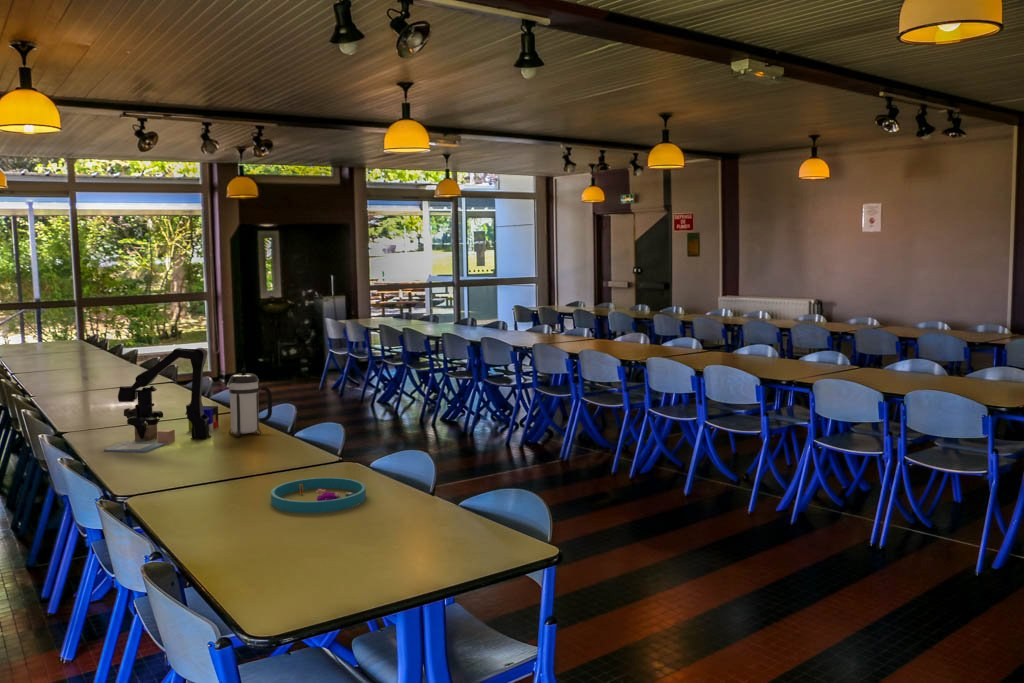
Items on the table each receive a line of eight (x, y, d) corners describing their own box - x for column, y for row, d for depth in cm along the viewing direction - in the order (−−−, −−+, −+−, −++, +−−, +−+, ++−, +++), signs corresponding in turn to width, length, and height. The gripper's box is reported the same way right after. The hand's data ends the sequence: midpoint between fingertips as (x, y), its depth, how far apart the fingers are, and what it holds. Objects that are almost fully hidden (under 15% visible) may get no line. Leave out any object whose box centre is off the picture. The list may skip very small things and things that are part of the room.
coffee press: (254, 438, 364) (252, 370, 361) (221, 436, 367) (219, 369, 364) (273, 430, 381) (271, 366, 378) (241, 429, 384) (239, 365, 381)
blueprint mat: (166, 444, 351) (166, 442, 351) (145, 452, 335) (145, 450, 335) (127, 443, 353) (126, 441, 353) (104, 451, 337) (104, 449, 337)
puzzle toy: (210, 431, 380) (209, 409, 379) (188, 431, 380) (188, 409, 379) (218, 427, 390) (218, 406, 389) (197, 427, 390) (196, 405, 389)
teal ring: (291, 520, 249) (291, 501, 248) (257, 497, 273) (257, 480, 272) (381, 504, 266) (381, 486, 266) (342, 484, 290) (342, 467, 290)
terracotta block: (174, 441, 358) (174, 429, 358) (168, 443, 354) (168, 431, 353) (164, 440, 359) (163, 429, 359) (157, 443, 354) (157, 431, 354)
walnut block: (157, 438, 363) (156, 424, 363) (149, 441, 357) (148, 427, 356) (143, 437, 364) (143, 424, 364) (135, 440, 358) (134, 427, 357)
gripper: (139, 397, 369) (140, 432, 371) (114, 404, 351) (116, 441, 352) (163, 398, 368) (164, 433, 369) (139, 405, 350) (140, 441, 351)
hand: (146, 437), depth 361 cm, fingers closed on walnut block, 6 cm apart
